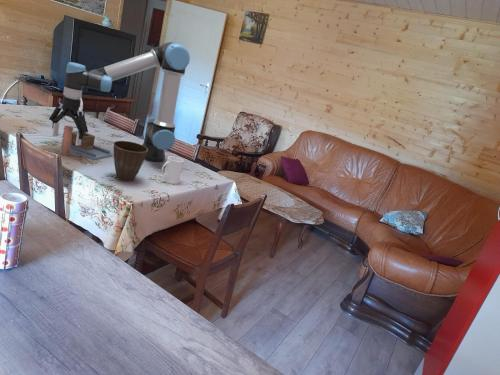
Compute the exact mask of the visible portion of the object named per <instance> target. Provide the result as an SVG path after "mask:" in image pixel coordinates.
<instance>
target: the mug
mask: <svg viewBox="0 0 500 375" xmlns="http://www.w3.org/2000/svg"><path fill="white" fill-rule="evenodd" d="M184 162H185V161H184V159H183V158H181V157H178V156H173V155H170V156H167V158H166V162H165V163H164V164H163V165H162V166H161V167H162V168H161V174H162V181H163V182H165V183H167V184H171V185H178V184H179V183H180V178H181V174H182V171H183V170H182V169H183V164H184Z"/></svg>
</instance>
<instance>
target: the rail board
mask: <svg viewBox="0 0 500 375" xmlns="http://www.w3.org/2000/svg"><path fill="white" fill-rule="evenodd" d="M73 132H79V131H78V130H76V131H74V130H73ZM73 132H72V133H73ZM63 136H64V132H63V134H62V137H63ZM62 145H63V139H62V142H61V146H62ZM70 152H73V153H75V154H78V155H80V156H82V157H86V158H87V159H89V160H93V161H98V160H101V159H105V158H110V157H113V156H114V153H113V154H112V153H111V150H107V149H105V148H102V147H100V146H96V145H95V144H94V147H93V149H89V150H84V149H81V148H78V147H76V146H73V145H71V148H70Z"/></svg>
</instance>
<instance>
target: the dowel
mask: <svg viewBox="0 0 500 375" xmlns="http://www.w3.org/2000/svg"><path fill="white" fill-rule="evenodd" d="M73 131H74V126H70V125H64V127H63V133H64V136H63V135H62V140H63V145H62V144H61V155H62V156H68V157H69V156H70V154H71V151H70V148H71V140H72V132H73Z"/></svg>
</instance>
